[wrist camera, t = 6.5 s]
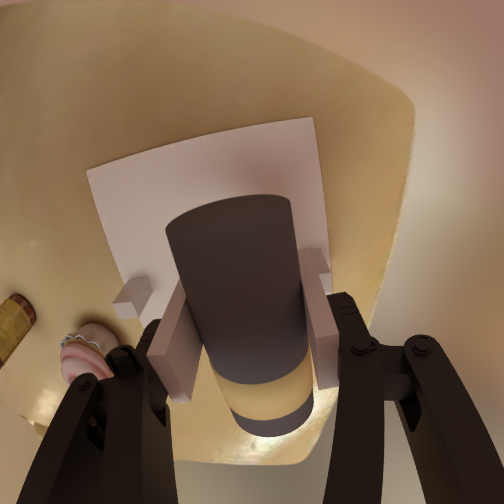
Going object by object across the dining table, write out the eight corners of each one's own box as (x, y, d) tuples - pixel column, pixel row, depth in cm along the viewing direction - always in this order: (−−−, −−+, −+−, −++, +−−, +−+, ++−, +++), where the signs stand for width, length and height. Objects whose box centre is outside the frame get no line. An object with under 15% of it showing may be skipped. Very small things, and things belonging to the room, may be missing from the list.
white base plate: (89, 169, 27) (52, 184, 21) (310, 116, 25) (327, 115, 19) (145, 324, 35) (128, 361, 29) (331, 299, 33) (345, 337, 27)
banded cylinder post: (181, 207, 14) (145, 249, 10) (286, 187, 14) (299, 223, 9) (234, 378, 19) (228, 440, 14) (309, 369, 18) (319, 431, 14)
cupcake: (124, 318, 35) (94, 372, 26) (134, 367, 39) (113, 419, 30) (67, 307, 35) (31, 353, 26) (82, 354, 39) (55, 400, 30)
